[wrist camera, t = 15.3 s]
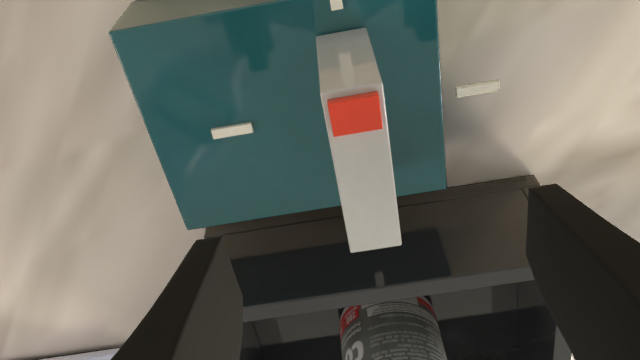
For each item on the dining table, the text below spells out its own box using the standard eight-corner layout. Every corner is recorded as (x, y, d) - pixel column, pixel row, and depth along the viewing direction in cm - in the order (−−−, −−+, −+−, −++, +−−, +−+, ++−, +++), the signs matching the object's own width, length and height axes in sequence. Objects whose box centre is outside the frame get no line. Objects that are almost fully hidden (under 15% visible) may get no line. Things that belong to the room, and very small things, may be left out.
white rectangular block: (385, 172, 21) (403, 251, 17) (341, 179, 21) (351, 259, 17) (366, 26, 17) (383, 86, 14) (315, 35, 18) (320, 97, 14)
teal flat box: (203, 201, 25) (192, 249, 22) (121, -24, 19) (94, 6, 17) (476, 157, 24) (498, 202, 21) (472, -91, 18) (501, -71, 16)
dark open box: (271, 403, 33) (268, 496, 29) (205, 226, 26) (187, 316, 21) (524, 369, 32) (559, 459, 28) (534, 173, 25) (585, 257, 20)
